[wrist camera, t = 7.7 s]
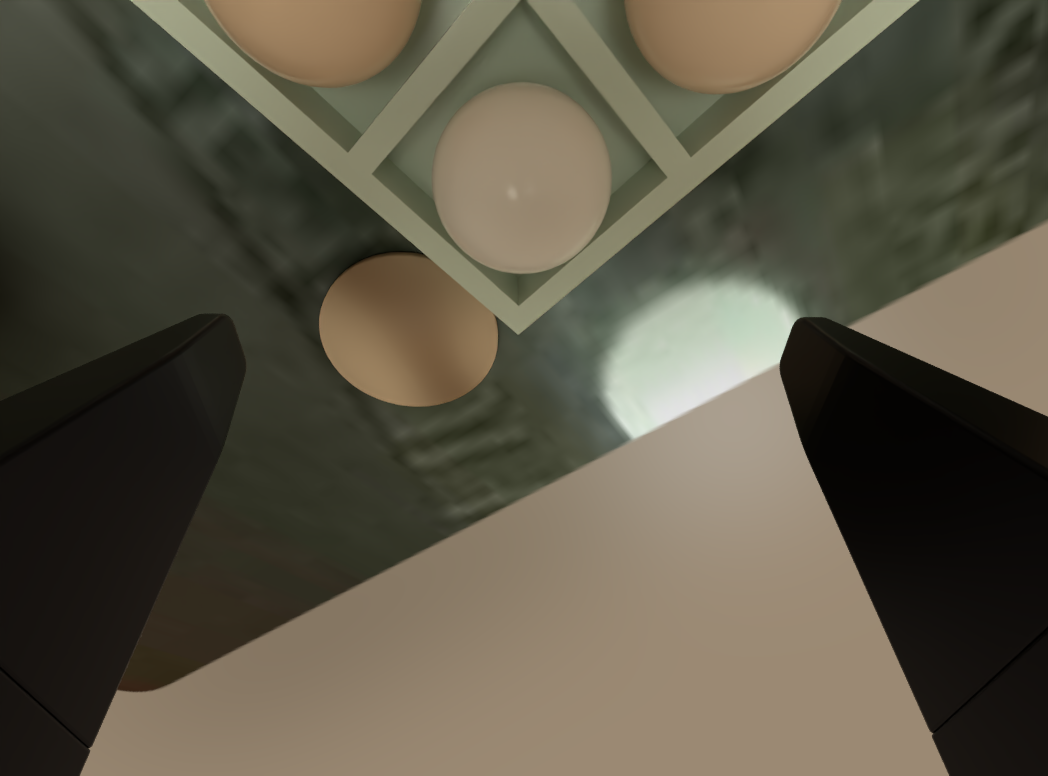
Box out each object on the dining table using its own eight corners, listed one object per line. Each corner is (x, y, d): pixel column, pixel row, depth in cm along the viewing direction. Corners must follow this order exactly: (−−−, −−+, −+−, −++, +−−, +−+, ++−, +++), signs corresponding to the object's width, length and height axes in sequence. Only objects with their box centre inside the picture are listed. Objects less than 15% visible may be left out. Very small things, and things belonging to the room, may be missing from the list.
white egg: (517, 261, 20) (523, 338, 16) (405, 156, 18) (380, 216, 14) (630, 157, 18) (668, 216, 14) (520, 24, 16) (528, 50, 12)
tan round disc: (422, 425, 26) (421, 431, 26) (286, 332, 23) (283, 338, 23) (533, 333, 23) (534, 339, 23) (396, 213, 20) (395, 217, 20)
